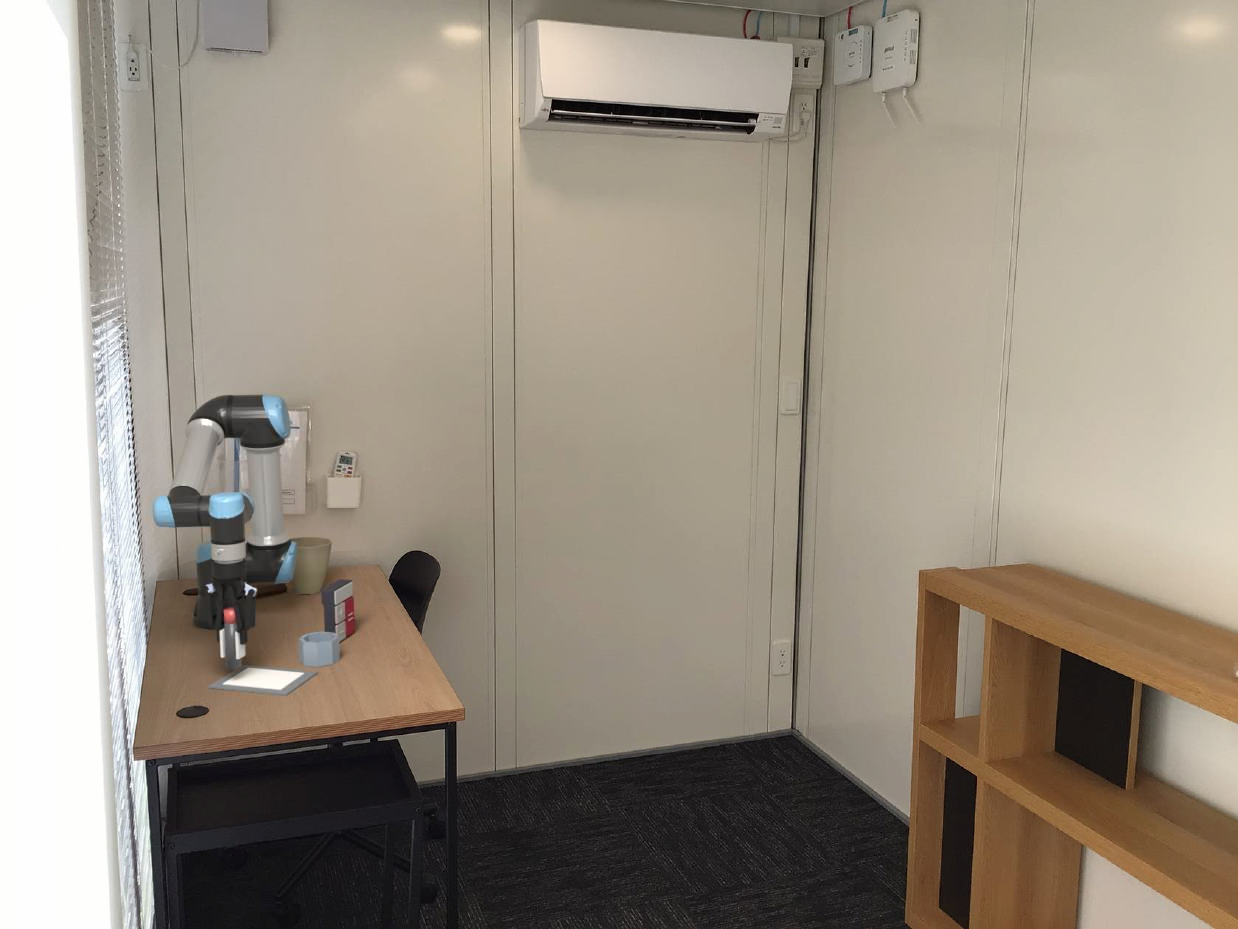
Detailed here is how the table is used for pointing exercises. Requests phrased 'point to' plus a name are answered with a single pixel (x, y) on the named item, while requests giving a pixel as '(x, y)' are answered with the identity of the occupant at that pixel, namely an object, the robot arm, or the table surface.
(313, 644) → the pen cup
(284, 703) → the table surface
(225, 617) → the marker
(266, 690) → the writing pad
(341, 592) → the grey and red block
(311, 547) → the plant pot
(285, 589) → the pan flute
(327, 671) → the table surface
